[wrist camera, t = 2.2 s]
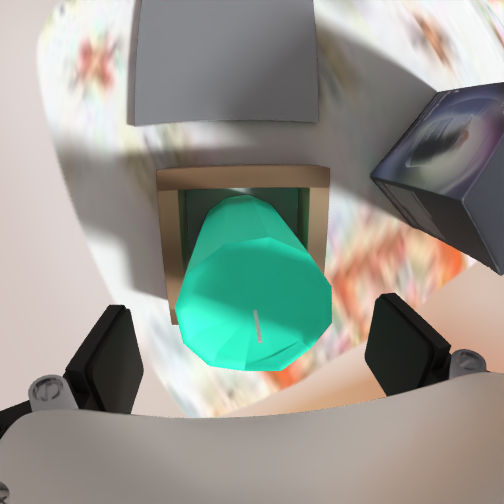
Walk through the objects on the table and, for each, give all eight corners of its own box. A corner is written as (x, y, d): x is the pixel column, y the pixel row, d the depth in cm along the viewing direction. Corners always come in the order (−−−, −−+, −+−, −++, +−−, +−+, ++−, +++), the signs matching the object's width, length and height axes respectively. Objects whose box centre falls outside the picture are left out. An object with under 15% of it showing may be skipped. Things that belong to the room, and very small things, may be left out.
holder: (166, 168, 19) (156, 170, 16) (315, 165, 19) (330, 167, 17) (178, 303, 22) (171, 324, 19) (309, 298, 23) (319, 318, 20)
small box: (435, 86, 18) (531, 72, 8) (474, 144, 19) (566, 157, 10) (363, 173, 20) (462, 198, 10) (412, 230, 22) (504, 282, 12)
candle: (182, 245, 21) (136, 352, 9) (235, 176, 19) (244, 211, 8) (249, 292, 22) (269, 419, 11) (302, 230, 21) (380, 319, 10)
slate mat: (146, -16, 14) (144, -20, 13) (309, -19, 15) (310, -22, 14) (137, 127, 18) (134, 126, 17) (316, 122, 18) (318, 121, 18)
